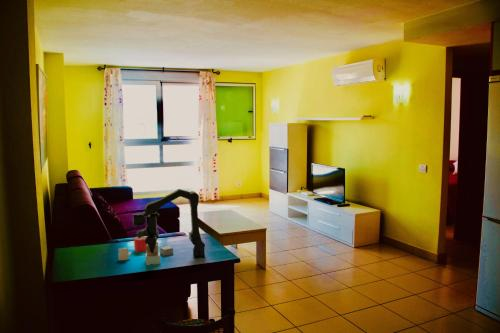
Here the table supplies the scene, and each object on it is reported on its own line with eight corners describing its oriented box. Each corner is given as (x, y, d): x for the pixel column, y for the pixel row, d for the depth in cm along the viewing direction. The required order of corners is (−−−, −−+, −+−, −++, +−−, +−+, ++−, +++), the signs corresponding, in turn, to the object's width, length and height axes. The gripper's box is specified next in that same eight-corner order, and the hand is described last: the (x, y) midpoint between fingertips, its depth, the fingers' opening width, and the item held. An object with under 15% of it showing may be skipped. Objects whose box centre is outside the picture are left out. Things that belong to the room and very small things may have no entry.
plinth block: (159, 259, 232) (159, 251, 232) (160, 264, 224) (160, 255, 224) (146, 260, 230) (145, 252, 229) (146, 265, 222) (145, 257, 222)
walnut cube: (158, 252, 230) (158, 242, 229) (157, 255, 224) (157, 245, 224) (148, 252, 229) (147, 242, 229) (146, 256, 223) (146, 246, 223)
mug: (154, 250, 249) (153, 238, 248) (134, 252, 245) (134, 240, 244) (153, 246, 256) (152, 235, 255) (134, 248, 253) (133, 237, 252)
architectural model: (119, 259, 234) (118, 247, 233) (131, 258, 236) (130, 246, 235) (118, 261, 231) (118, 249, 230) (130, 260, 233) (130, 248, 232)
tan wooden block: (169, 251, 246) (169, 245, 246) (173, 254, 241) (173, 247, 241) (160, 253, 243) (160, 247, 242) (164, 256, 238) (163, 249, 237)
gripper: (139, 221, 233) (140, 246, 234) (134, 229, 214) (136, 256, 216) (158, 220, 234) (159, 245, 236) (155, 228, 216) (156, 255, 218)
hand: (152, 250), depth 226 cm, fingers open, 9 cm apart
